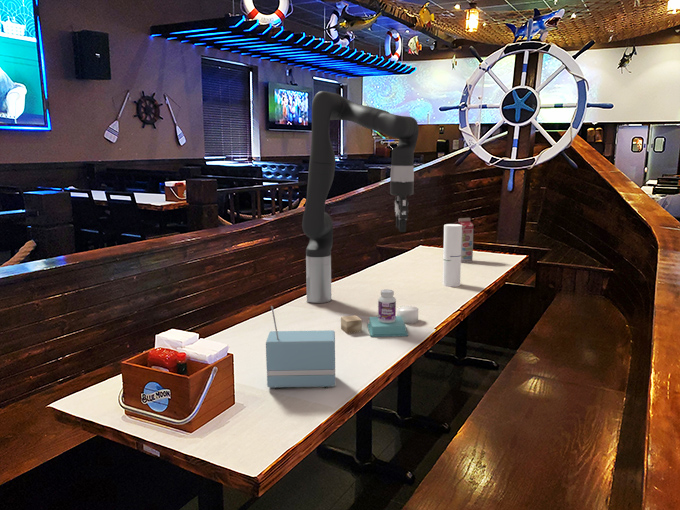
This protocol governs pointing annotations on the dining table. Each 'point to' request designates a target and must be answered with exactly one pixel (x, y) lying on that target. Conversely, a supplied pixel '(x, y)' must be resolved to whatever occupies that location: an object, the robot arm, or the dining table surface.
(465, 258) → the juice carton
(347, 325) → the tan square block
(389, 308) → the pill bottle
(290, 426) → the dining table surface
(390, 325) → the podium
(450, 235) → the cylindrical container
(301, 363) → the radio
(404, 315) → the white rounded puck
